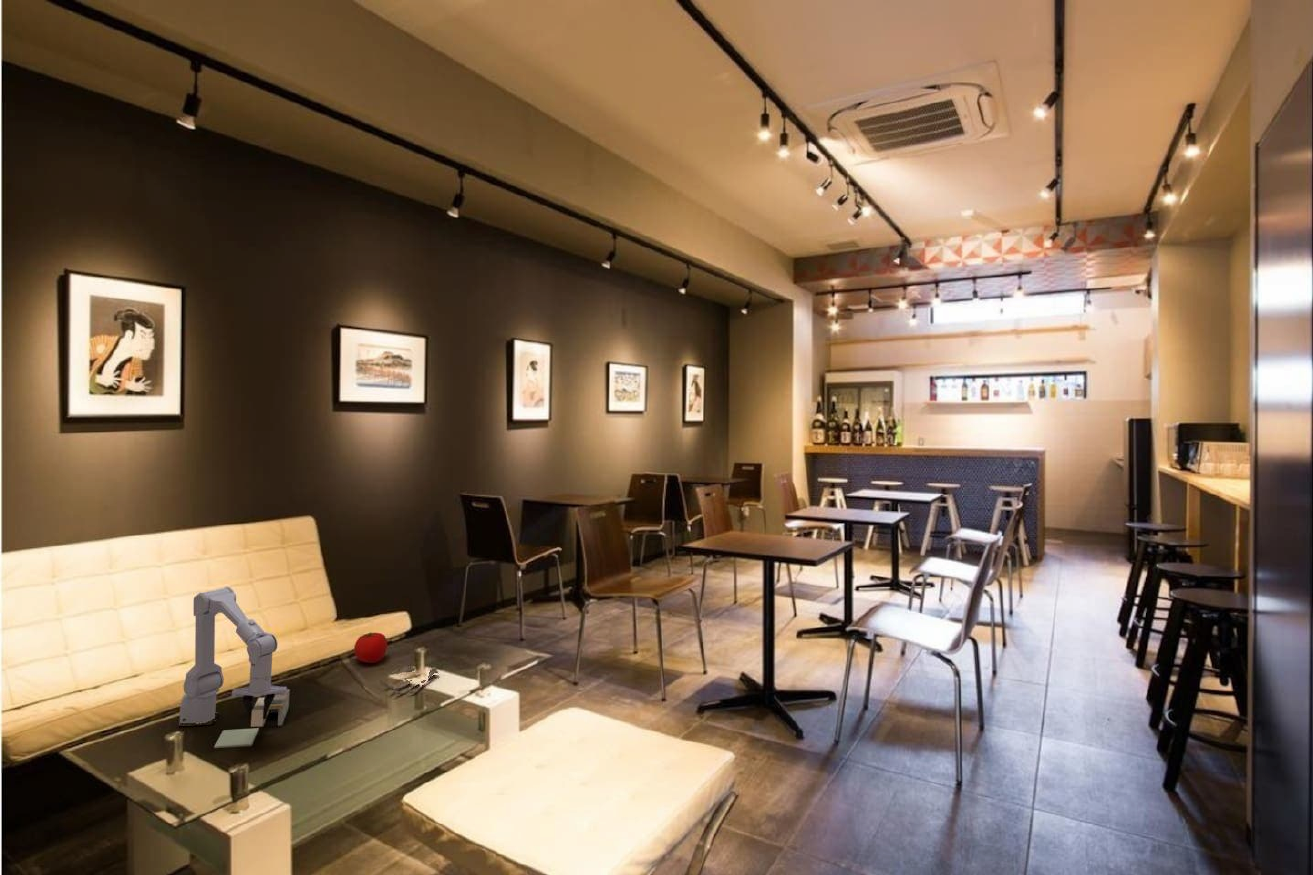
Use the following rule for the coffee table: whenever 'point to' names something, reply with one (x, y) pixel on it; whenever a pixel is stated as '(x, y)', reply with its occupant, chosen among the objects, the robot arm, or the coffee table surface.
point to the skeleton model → (407, 669)
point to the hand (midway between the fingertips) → (258, 718)
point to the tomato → (370, 647)
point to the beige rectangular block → (258, 713)
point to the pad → (236, 738)
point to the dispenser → (279, 707)
